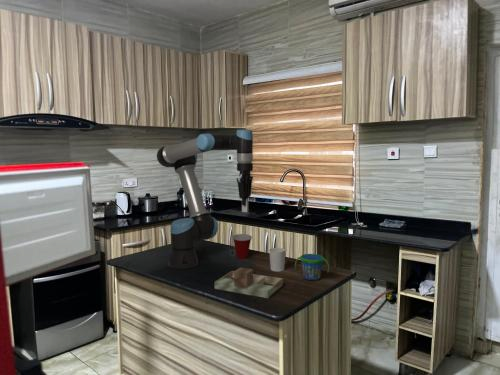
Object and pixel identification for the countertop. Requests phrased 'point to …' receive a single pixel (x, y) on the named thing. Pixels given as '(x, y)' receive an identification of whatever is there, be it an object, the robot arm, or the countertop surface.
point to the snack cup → (311, 265)
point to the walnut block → (243, 277)
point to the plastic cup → (242, 245)
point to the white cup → (277, 259)
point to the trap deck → (253, 289)
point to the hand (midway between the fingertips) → (245, 211)
